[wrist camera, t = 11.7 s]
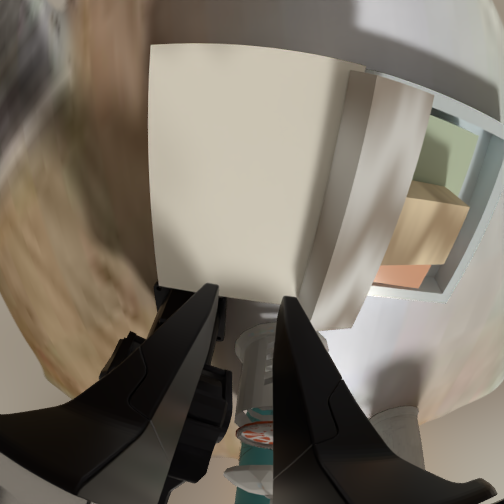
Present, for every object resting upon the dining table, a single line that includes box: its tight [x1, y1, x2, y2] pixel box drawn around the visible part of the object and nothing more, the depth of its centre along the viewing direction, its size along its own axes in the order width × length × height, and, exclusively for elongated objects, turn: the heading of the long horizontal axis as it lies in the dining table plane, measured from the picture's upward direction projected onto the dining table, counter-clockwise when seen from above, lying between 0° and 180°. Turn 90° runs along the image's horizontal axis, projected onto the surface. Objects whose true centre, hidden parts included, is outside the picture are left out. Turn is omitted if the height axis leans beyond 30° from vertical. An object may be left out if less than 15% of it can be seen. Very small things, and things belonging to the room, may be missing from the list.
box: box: [365, 70, 504, 304], centre depth 18 cm, size 15×12×2 cm
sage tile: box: [412, 114, 479, 197], centre depth 15 cm, size 4×4×2 cm
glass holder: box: [369, 406, 425, 470], centre depth 35 cm, size 9×14×15 cm, turn 124°
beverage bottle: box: [235, 408, 273, 504], centre depth 30 cm, size 6×7×20 cm
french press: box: [224, 322, 329, 504], centre depth 20 cm, size 10×12×25 cm
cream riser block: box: [148, 43, 366, 305], centre depth 17 cm, size 15×10×4 cm, turn 174°
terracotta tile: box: [373, 265, 431, 288], centre depth 20 cm, size 4×4×2 cm
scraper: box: [298, 70, 470, 331], centre depth 15 cm, size 14×2×8 cm
